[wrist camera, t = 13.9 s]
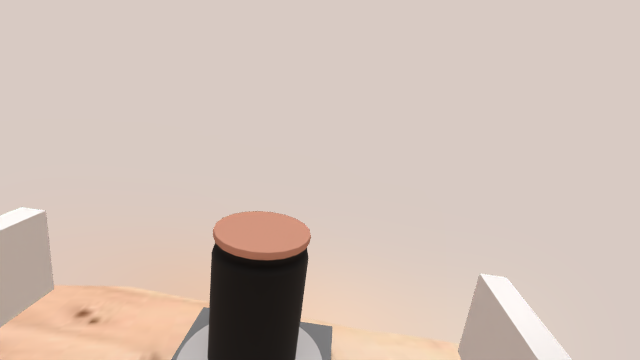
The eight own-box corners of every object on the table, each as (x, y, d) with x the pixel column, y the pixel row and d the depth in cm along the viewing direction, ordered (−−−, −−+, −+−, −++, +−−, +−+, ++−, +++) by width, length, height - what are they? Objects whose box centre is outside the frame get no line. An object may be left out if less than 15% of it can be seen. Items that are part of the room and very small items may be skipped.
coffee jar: (272, 322, 51) (284, 207, 46) (310, 377, 43) (329, 242, 38) (196, 345, 45) (200, 215, 40) (223, 413, 37) (233, 260, 32)
